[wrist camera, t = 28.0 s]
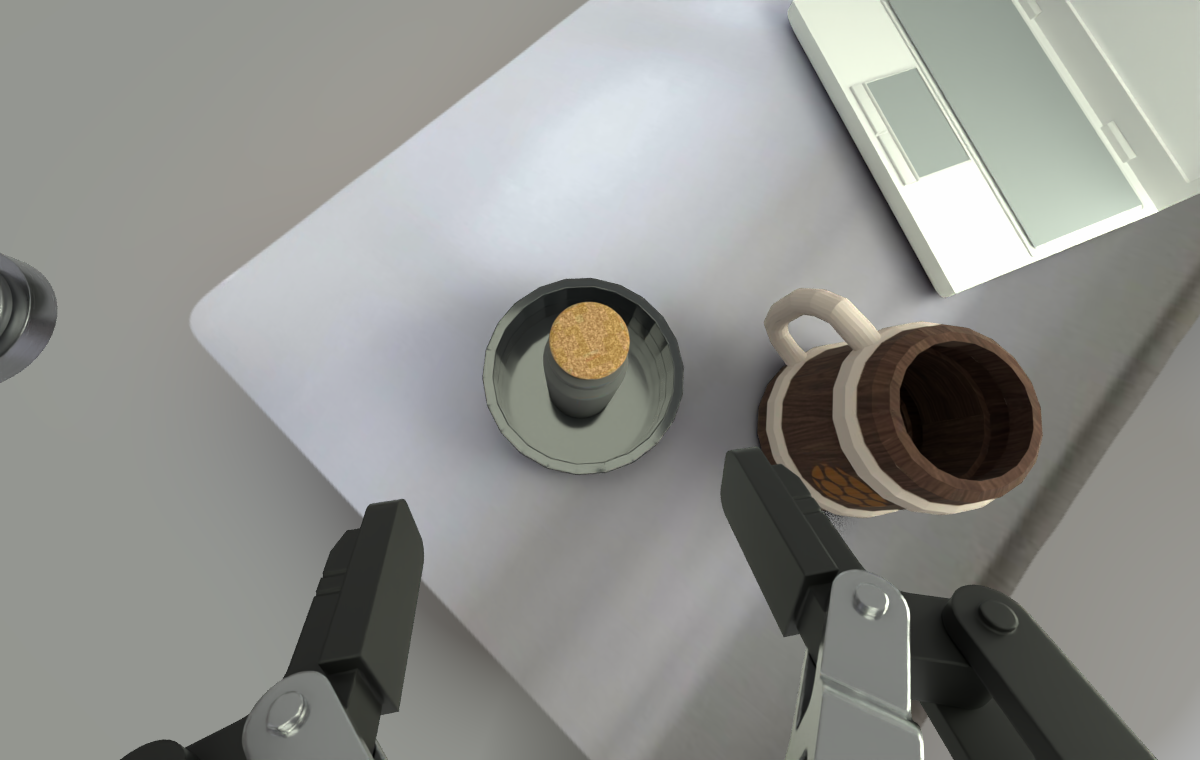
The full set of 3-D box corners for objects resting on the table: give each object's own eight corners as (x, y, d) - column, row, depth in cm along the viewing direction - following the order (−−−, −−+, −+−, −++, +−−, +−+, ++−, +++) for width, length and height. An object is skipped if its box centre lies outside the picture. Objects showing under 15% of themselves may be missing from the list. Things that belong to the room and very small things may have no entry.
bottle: (609, 352, 43) (633, 289, 28) (616, 415, 42) (644, 385, 27) (545, 356, 42) (535, 295, 28) (550, 421, 41) (542, 392, 26)
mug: (940, 444, 44) (1129, 431, 29) (828, 551, 41) (973, 594, 27) (800, 283, 46) (910, 195, 31) (684, 374, 43) (745, 324, 29)
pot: (544, 507, 40) (541, 513, 34) (464, 349, 42) (448, 329, 36) (698, 422, 43) (719, 414, 37) (615, 276, 45) (623, 247, 39)
